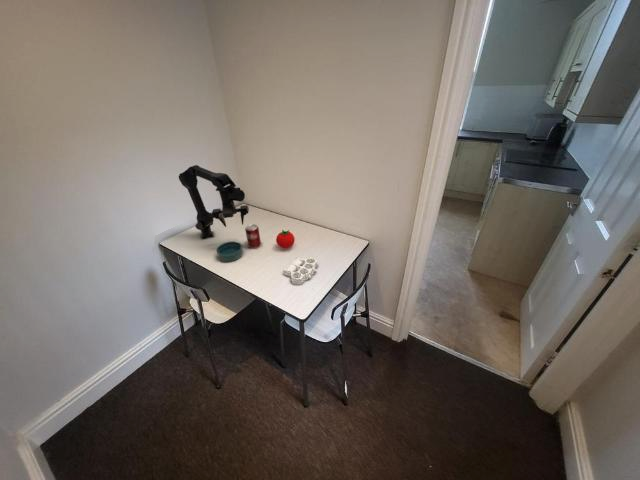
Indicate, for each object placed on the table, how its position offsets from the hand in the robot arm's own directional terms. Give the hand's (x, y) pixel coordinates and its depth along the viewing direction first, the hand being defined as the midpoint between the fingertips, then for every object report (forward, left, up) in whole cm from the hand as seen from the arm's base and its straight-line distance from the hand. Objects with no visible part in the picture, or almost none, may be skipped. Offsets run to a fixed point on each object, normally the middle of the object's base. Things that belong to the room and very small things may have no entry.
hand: (234, 225), depth 140 cm
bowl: (+8, -5, -13) cm, 16 cm away
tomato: (+13, +25, -13) cm, 31 cm away
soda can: (+4, +9, -13) cm, 16 cm away
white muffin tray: (+38, +25, -13) cm, 47 cm away
